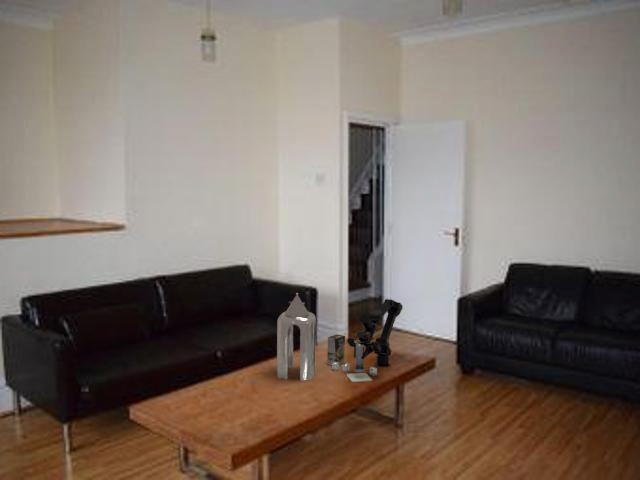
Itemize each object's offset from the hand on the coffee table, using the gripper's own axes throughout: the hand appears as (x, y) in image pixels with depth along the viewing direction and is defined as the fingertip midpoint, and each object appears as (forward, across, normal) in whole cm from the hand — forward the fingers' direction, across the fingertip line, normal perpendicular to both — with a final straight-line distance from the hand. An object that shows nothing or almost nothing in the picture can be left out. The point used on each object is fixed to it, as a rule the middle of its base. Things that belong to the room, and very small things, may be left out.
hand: (358, 358), depth 309 cm
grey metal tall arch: (+17, -32, -1) cm, 36 cm away
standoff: (+4, 0, +6) cm, 7 cm away
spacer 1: (+4, -18, +12) cm, 22 cm away
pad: (+7, 0, +9) cm, 11 cm away
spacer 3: (+1, +4, +15) cm, 16 cm away
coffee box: (-2, -23, +19) cm, 30 cm away
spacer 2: (+3, -11, +13) cm, 17 cm away
